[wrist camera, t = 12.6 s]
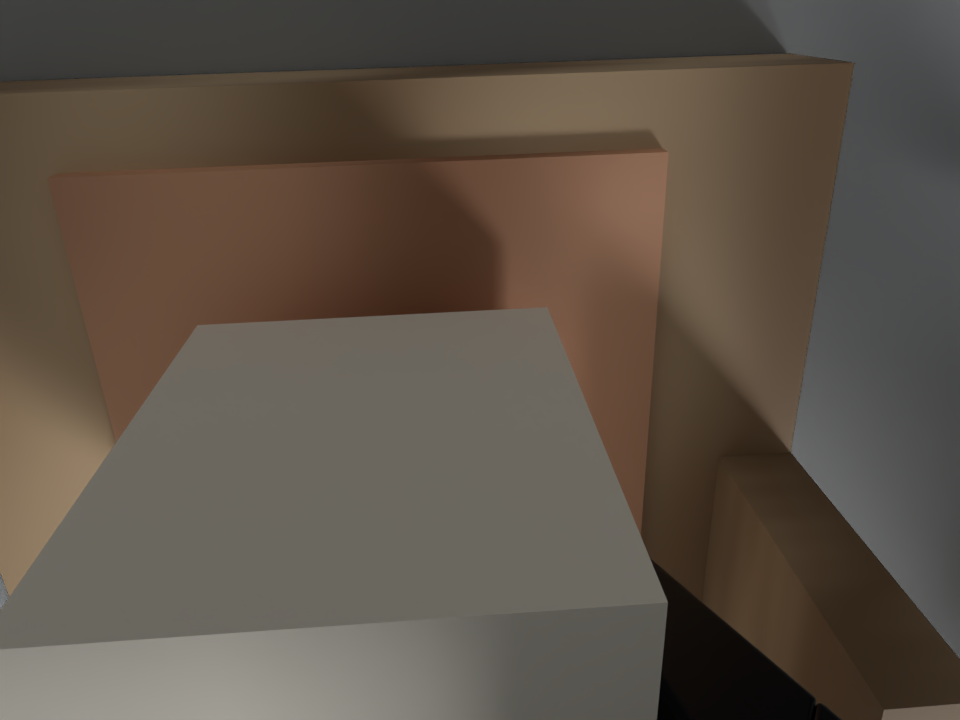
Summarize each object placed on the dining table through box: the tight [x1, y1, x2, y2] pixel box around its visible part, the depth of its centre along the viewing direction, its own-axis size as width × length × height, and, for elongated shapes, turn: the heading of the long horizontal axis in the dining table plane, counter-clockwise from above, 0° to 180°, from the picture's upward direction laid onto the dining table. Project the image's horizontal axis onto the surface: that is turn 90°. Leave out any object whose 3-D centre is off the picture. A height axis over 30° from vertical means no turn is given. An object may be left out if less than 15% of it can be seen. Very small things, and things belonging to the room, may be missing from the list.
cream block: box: [0, 307, 668, 720], centre depth 9 cm, size 4×4×6 cm
